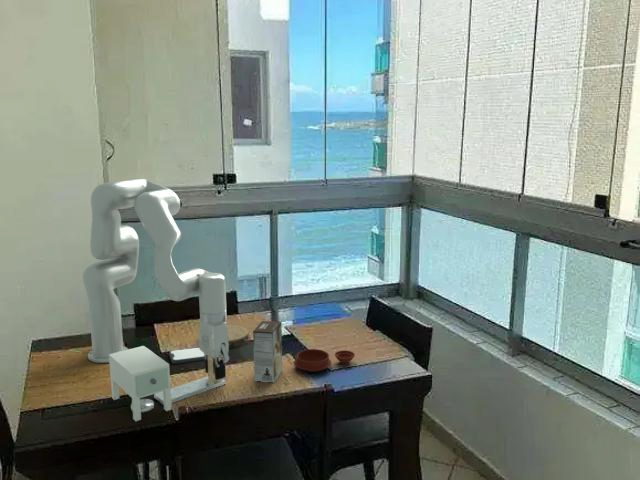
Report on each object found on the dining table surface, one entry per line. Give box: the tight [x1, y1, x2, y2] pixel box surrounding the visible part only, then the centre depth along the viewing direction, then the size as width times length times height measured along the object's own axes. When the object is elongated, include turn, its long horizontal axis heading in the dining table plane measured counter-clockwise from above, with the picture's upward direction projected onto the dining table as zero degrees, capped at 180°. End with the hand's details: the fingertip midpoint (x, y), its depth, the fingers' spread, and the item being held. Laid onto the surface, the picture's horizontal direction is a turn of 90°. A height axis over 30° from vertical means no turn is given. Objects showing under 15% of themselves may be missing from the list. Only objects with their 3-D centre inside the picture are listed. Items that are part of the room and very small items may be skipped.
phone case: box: [168, 347, 205, 365], centre depth 193 cm, size 9×2×16 cm
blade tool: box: [153, 353, 226, 406], centre depth 168 cm, size 6×20×10 cm, turn 132°
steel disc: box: [130, 398, 155, 413], centre depth 159 cm, size 6×6×1 cm
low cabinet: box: [108, 345, 173, 422], centre depth 159 cm, size 18×10×13 cm, turn 39°
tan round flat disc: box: [226, 324, 249, 349], centre depth 207 cm, size 16×16×3 cm
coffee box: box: [252, 320, 283, 384], centre depth 177 cm, size 9×6×16 cm
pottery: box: [293, 348, 356, 373], centre depth 185 cm, size 12×20×4 cm, turn 112°
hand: (215, 374), depth 173 cm, fingers open, 4 cm apart
